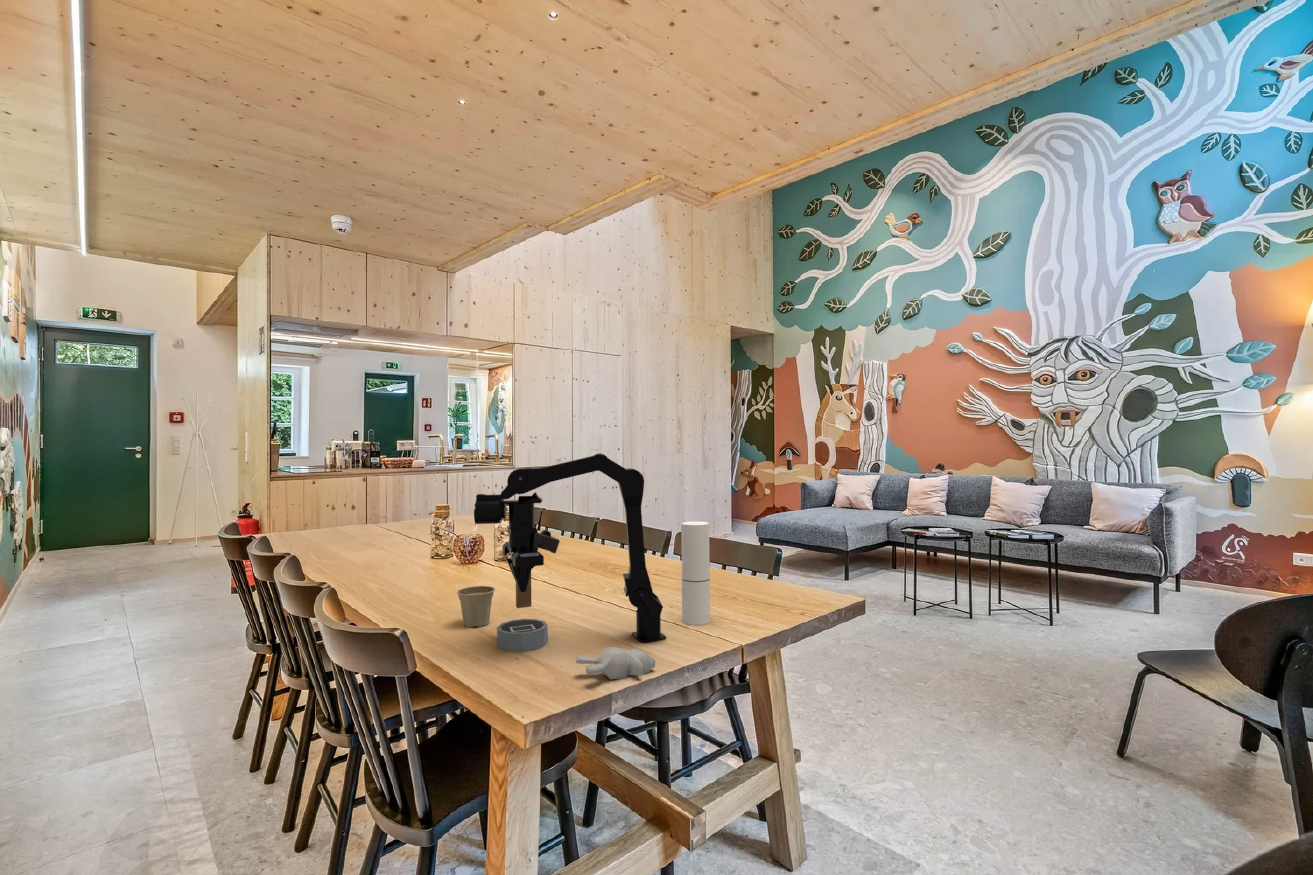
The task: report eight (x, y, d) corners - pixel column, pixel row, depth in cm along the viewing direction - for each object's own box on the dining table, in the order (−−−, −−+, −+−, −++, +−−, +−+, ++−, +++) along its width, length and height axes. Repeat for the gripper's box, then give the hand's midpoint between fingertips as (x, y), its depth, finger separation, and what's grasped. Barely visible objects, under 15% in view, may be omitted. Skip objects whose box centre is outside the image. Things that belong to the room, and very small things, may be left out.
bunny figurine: (662, 655, 120) (591, 659, 113) (660, 682, 119) (588, 687, 113) (641, 641, 128) (574, 644, 121) (639, 666, 128) (571, 670, 121)
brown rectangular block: (531, 606, 140) (531, 567, 140) (517, 608, 138) (517, 568, 138) (529, 604, 141) (529, 565, 141) (516, 606, 140) (515, 567, 140)
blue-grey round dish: (551, 647, 137) (551, 629, 137) (501, 654, 132) (501, 636, 132) (541, 633, 147) (541, 616, 147) (494, 639, 142) (494, 622, 142)
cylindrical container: (710, 617, 159) (709, 521, 159) (709, 625, 152) (709, 525, 152) (682, 616, 160) (682, 521, 160) (681, 624, 153) (680, 525, 153)
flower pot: (449, 628, 151) (449, 593, 151) (469, 617, 160) (469, 584, 161) (483, 630, 149) (483, 595, 149) (501, 619, 158) (501, 586, 158)
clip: (535, 639, 139) (535, 628, 139) (512, 643, 137) (511, 631, 137) (532, 635, 142) (532, 624, 142) (509, 638, 140) (509, 627, 140)
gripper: (566, 525, 134) (567, 596, 134) (547, 516, 151) (547, 579, 151) (515, 529, 130) (516, 602, 130) (501, 519, 147) (502, 583, 147)
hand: (522, 590), depth 140 cm, fingers closed on brown rectangular block, 2 cm apart
